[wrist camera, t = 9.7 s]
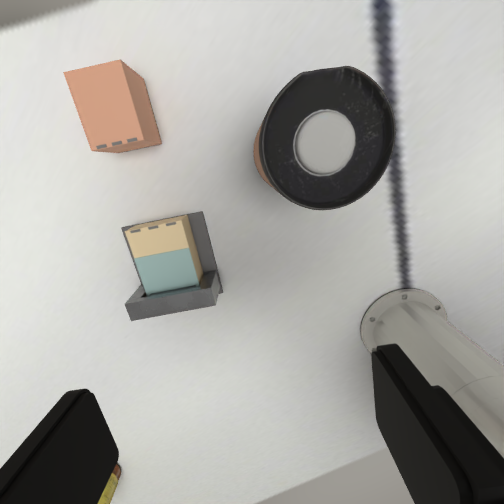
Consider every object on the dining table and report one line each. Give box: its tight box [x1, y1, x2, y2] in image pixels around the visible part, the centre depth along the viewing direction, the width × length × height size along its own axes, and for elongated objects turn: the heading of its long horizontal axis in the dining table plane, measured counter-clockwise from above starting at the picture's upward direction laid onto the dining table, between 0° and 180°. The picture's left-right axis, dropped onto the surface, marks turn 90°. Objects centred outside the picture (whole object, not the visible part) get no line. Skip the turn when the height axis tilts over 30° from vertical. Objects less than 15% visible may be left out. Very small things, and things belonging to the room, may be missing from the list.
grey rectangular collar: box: [125, 270, 220, 321], centre depth 36 cm, size 2×11×6 cm, turn 101°
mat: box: [122, 211, 223, 294], centre depth 38 cm, size 12×11×1 cm
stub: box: [64, 60, 162, 153], centre depth 29 cm, size 7×6×6 cm
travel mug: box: [254, 66, 396, 210], centre depth 24 cm, size 8×8×20 cm
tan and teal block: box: [125, 215, 204, 297], centre depth 36 cm, size 11×7×4 cm, turn 11°
